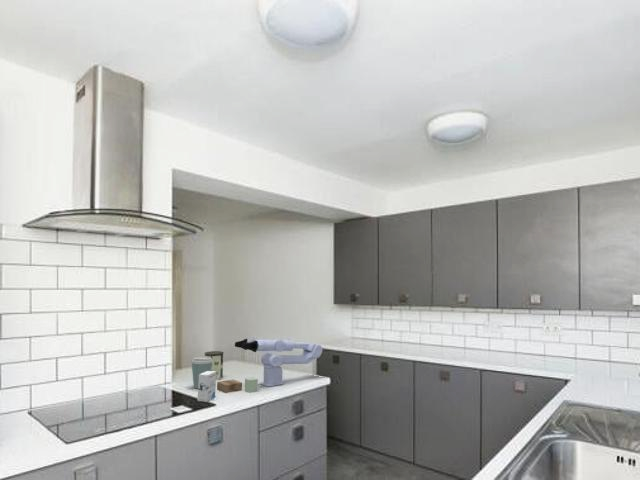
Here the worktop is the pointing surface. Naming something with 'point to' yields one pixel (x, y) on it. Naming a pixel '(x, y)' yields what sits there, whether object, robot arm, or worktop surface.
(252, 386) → the green block
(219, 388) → the walnut base
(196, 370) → the disposable coffee cup
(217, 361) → the coffee can
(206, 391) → the ink box
